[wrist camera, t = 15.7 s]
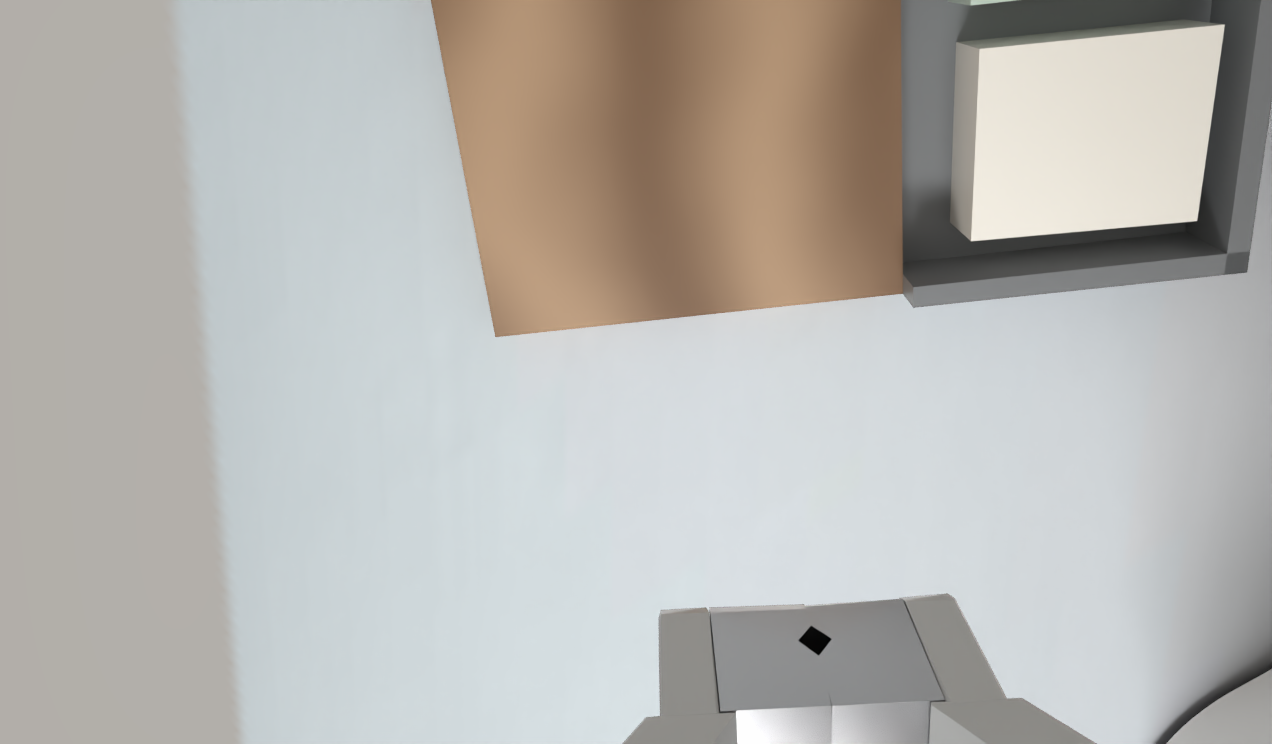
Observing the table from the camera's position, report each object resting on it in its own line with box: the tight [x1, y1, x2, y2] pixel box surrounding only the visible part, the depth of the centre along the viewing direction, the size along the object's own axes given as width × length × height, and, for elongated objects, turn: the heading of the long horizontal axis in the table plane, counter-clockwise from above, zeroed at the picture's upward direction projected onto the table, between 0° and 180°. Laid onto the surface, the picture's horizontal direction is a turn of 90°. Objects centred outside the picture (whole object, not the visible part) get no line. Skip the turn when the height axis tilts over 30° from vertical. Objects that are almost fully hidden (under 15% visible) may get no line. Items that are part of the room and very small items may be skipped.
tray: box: [901, 0, 1272, 308], centre depth 25 cm, size 9×14×2 cm, turn 7°
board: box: [431, 0, 903, 337], centre depth 26 cm, size 12×14×1 cm
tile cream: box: [950, 19, 1225, 241], centre depth 26 cm, size 6×5×2 cm
